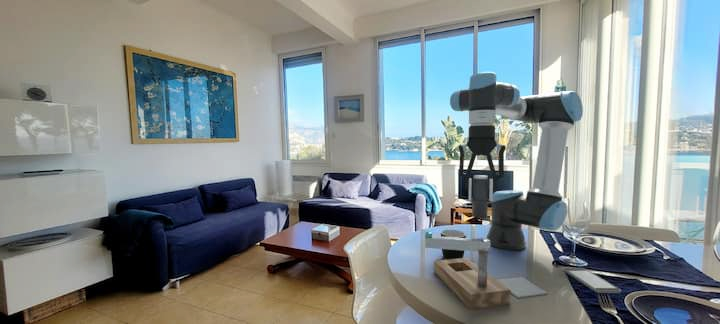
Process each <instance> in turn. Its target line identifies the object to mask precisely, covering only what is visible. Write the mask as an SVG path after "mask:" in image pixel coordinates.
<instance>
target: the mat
mask: <svg viewBox="0 0 720 324" xmlns="http://www.w3.org/2000/svg"><path fill="white" fill-rule="evenodd" d="M497 280H498V281H499V282H501V283H502V284H503V285H505V286H506V287H508V288H509V289H510V290H511V294H510V295H512V296H514V297H515V298H517V299H522V298H528V297H537V296H542V295H543V296H544V295H548V292H547V291H545V290H543V289H542V288H540V287H539V286H537V285H536V284H534V283H532V282H531V281H529V280H527V279H526V278H524V277H522V276H518V277H510V278H501V279H500V278H499V279H497Z"/></svg>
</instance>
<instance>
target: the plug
mask: <svg viewBox="0 0 720 324" xmlns="http://www.w3.org/2000/svg"><path fill="white" fill-rule="evenodd" d="M488 176H489V175H483V174H482V175H481V174H475V175H473V178H472V197H471V200H470V203H471V205H472V206H471V207H472V208H471V209H472V210H471V216H472V217H473V218H476V219H486V218H488V208H489V207H488V205H489V204H490V201H489V177H488Z"/></svg>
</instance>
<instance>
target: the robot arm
mask: <svg viewBox="0 0 720 324" xmlns="http://www.w3.org/2000/svg"><path fill="white" fill-rule="evenodd" d="M449 104H450V107H451V109H452V110H453V111H454V112H465V111H467V112H468V124H469V127H468V140H467V142H466V143H465V144H460V145H458V147H457V149H458V151H459V166H458V167H459V172H458V175H459V177H461V178H462V179H464V188H465V189H466V190H468V201H471V198H472V185H473V178H470V177H471V174H472V173H471V172H472V171H473V166H474V165H475V161H476V158H477V156H484V157H485V156H486V160H487V163H488V167H489V171H490V174H491V178H489V181H488V200H489V202H491V221H490V226H489V229H488V232H487V234H486V239H488V240H490V241H491V242H490V246H491V245H492V247H494V248H497V249H500V250H501V249H502V250H506V251H507V250H509V251H520V250H525V248H526V245H527V244H526V239H525V235H524V232H523V227H522V225H524V226H527V227H528V226H529V227H531V228H536V229H540V230H545V231H550V232H554V231H557V230H559V229H560V228H561V227H562V226H563V224H564V223H565V221H566V217H567V215H568V204H567V203H566V202H565V201H563V196H562V195H561V193H560V192H559V190H560V189H559V188H560V183H561V177H562V170H563V165H564V158H565V152H566V146H567V139H568V134H569V133H568V132H569V131H571V130H572V129H573V128H574V125H575V122H579V121H580V120H581V119H582V118H583V112H584V110H583V109H584V108H583V102H582V100H581V97H580V95H579V93H578V92H576V91H574V90H567V91H566V90H565V91H563V90H562V91H557V92H551V93H550V92H549V93H541V94H533V95H528V96H521V93H520V90H519V88H518V87H517V86H516V85H514V84H510V83H509V82H507V83H505V82H498V79H497V74H496V73H495V72H493V71H484V72H483V71H482V72H477V73H474V74H471V76H470V77H469V87H468V88H467V89H459V90H456V91H454V92H452V94H451V95H450V98H449ZM496 116H501V117H502V116H504V117H506V118H507V119H509V120H513V121H518V122H524V123H530V124H531V123H533V124H538V127H539V128H540V129H541V134H540V140H539V146H538V152H537V158H536V165H535V171H534V176H533V182H532V183H533V184H532V187H531V188H530V189H529V190H527V192H526V195H524V192H523V191H522V190H516V189H515V190H514V189H513V190H500V191H499V190H498V191H496V190H497V186H498V180H499V179H504V178H505V172H504V171H505V170H504V168H505V165H504V164H505V163H504V162H505V161H504V159H505V157H504V156H505V155H504V154H505V151H506V148H507V146H506V145H504V144H499V143H497V141H496V126H495V125H494V124H496ZM467 148H468V149H469V151H470V152H471V156H470V159H469V163H468V166H467V169H466V172H465V173H464V165H465V164H464V163H465V152H466V151H467ZM495 148H496V151H497V152H498V155H497V156H498V165H497V167H498V173H496V168H495V165H494V161H493V157H492V155H491V153H492V151H493V150H494V149H495ZM493 191H495V192H493Z"/></svg>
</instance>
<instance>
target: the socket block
mask: <svg viewBox="0 0 720 324" xmlns="http://www.w3.org/2000/svg"><path fill="white" fill-rule="evenodd" d="M488 254H489V253H480V252H478V260H477V264H478V265H477V264H476V263H474V262H473V261H471V260H470V259H469V258H467V257H463V258H458V259H447V260H445V259H439V260H434V261H433V273H435V275H436V276H437V277H439V279H441V281H442V282H443V283H444V284H445V285H446V286H447V287H449V289H451V290H452V292H453V293H454V294H456V296H458V298H460V299H461V301H462V302H463V303H464V304H465V305H466V306H467V307H469V309H470V310H472V309H474V310H475V309H480V308H481V309H482V308H488V307H489V308H490V307H495V306H497V307H498V306H502V305H509V304H511V295H512V294H511V290H510V289H509V288H508V287H506V286H505V285H503V284H502V283H501V282H499V281H498V280H499V279H497V278H495V277H494V276H492V275H491V274H489V273H488V260H489V257H488V256H489V255H488Z"/></svg>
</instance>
